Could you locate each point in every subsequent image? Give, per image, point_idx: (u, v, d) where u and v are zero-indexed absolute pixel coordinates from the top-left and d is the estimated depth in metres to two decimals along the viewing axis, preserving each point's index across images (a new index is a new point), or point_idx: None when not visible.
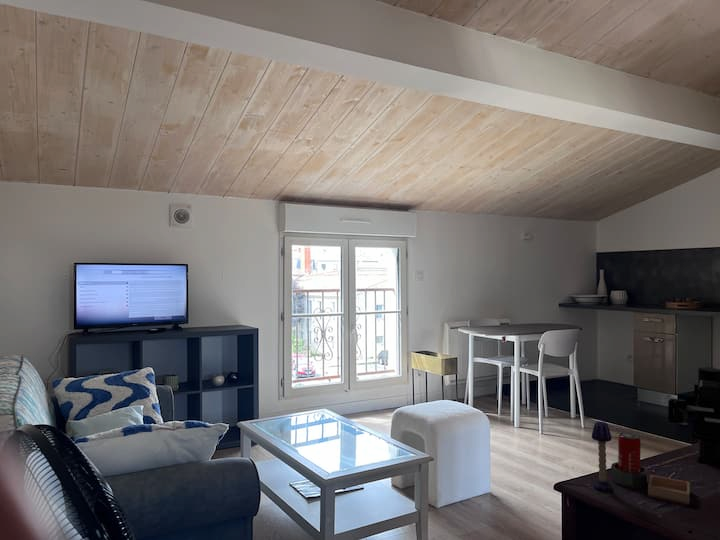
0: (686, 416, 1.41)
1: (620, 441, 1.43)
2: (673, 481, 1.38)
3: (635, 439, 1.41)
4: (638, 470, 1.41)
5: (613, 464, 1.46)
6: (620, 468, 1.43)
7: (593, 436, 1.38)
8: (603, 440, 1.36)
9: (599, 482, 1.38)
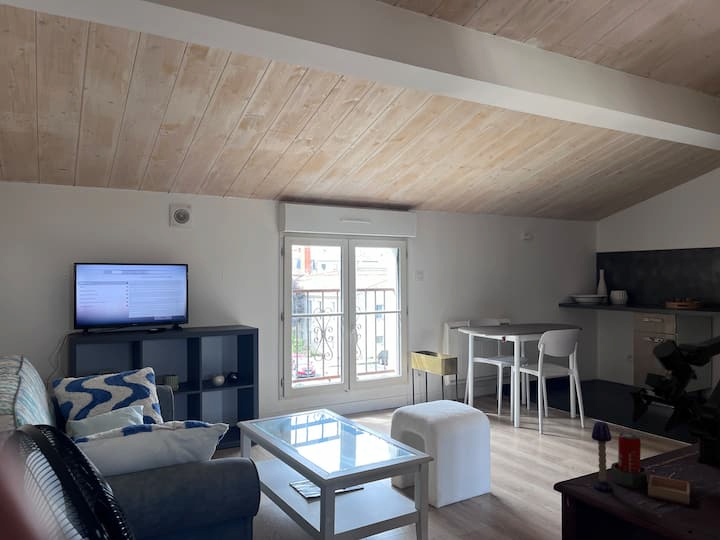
0: (634, 415, 1.51)
1: (620, 441, 1.43)
2: (673, 481, 1.38)
3: (635, 439, 1.41)
4: (638, 470, 1.41)
5: (613, 464, 1.46)
6: (620, 468, 1.43)
7: (593, 436, 1.38)
8: (603, 440, 1.36)
9: (599, 482, 1.38)
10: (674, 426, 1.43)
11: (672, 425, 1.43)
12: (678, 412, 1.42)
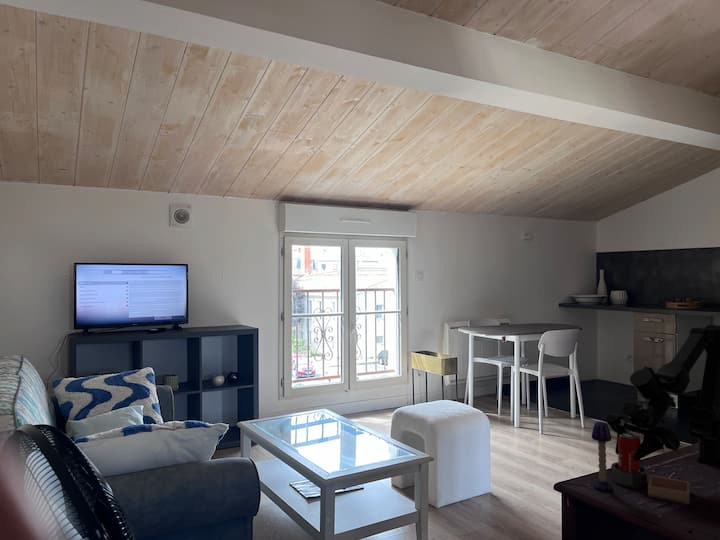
0: (617, 447, 1.45)
1: (620, 441, 1.43)
2: (673, 481, 1.38)
3: (635, 439, 1.41)
4: (638, 470, 1.41)
5: (613, 464, 1.46)
6: (620, 468, 1.43)
7: (593, 436, 1.38)
8: (603, 440, 1.36)
9: (599, 482, 1.38)
10: (644, 455, 1.40)
11: (642, 454, 1.40)
12: (648, 441, 1.40)
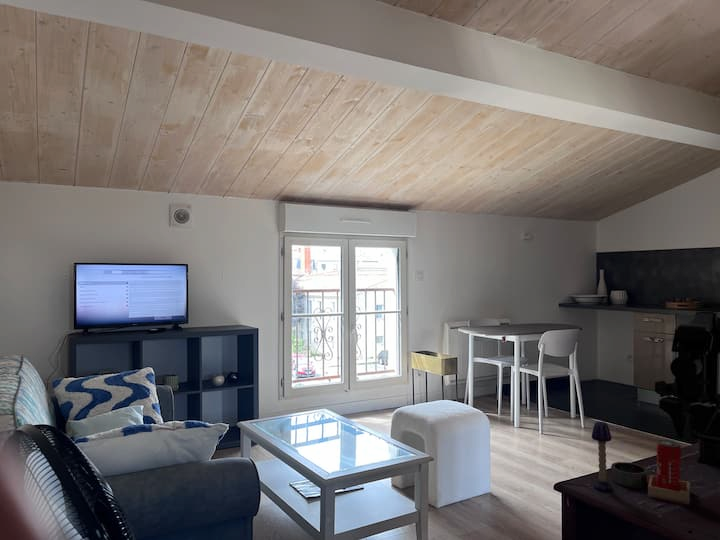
0: None
1: (659, 449, 1.35)
2: None
3: (675, 447, 1.33)
4: (679, 480, 1.33)
5: (613, 464, 1.46)
6: (659, 477, 1.35)
7: (593, 436, 1.38)
8: (603, 440, 1.36)
9: (599, 482, 1.38)
10: (681, 429, 1.37)
11: (679, 429, 1.38)
12: None
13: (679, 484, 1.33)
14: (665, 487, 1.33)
